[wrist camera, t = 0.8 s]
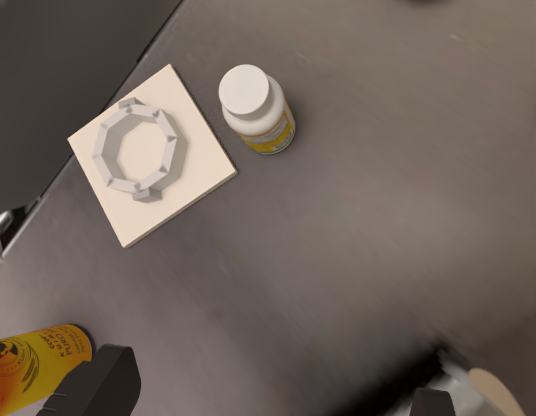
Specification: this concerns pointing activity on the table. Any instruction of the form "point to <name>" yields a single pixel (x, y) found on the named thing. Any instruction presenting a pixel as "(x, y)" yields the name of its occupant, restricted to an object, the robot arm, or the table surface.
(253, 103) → the supplement bottle
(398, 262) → the table surface
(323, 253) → the table surface
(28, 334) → the beer can
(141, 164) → the socket base
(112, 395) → the robot arm
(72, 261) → the table surface
